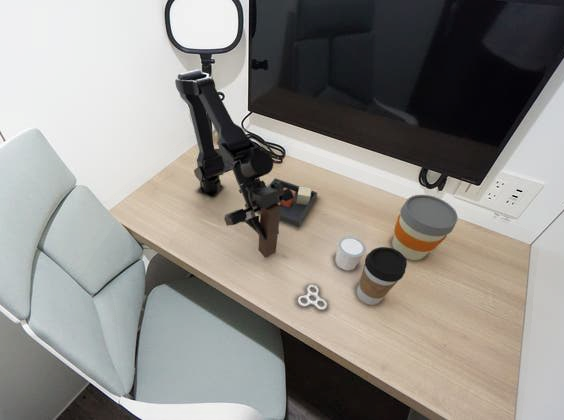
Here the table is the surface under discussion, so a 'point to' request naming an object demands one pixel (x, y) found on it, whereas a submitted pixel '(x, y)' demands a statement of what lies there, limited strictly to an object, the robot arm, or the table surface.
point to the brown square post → (269, 229)
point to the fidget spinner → (311, 300)
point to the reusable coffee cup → (422, 225)
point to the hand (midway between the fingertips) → (271, 237)
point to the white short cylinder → (349, 252)
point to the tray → (294, 205)
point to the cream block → (303, 195)
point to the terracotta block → (289, 202)
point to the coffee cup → (380, 274)
